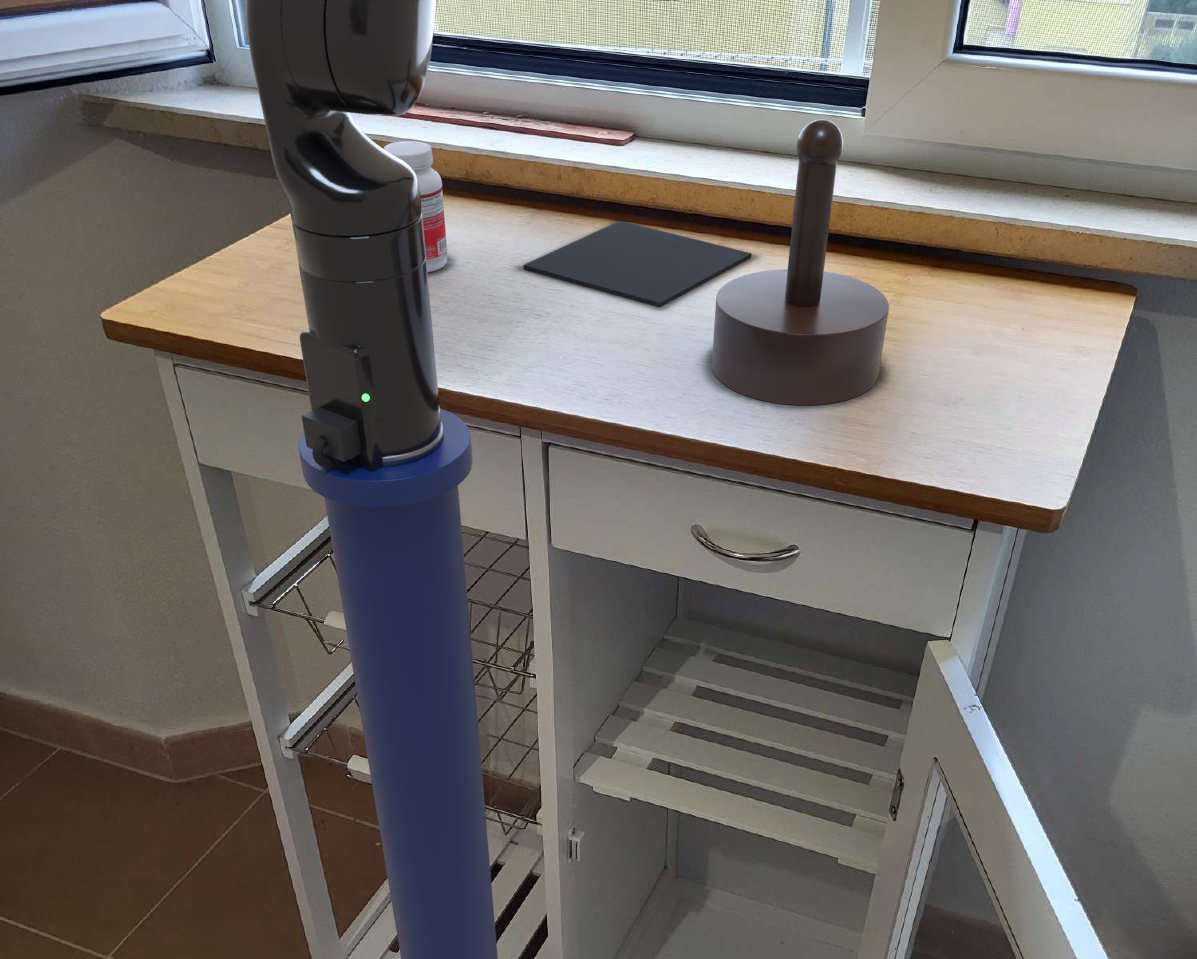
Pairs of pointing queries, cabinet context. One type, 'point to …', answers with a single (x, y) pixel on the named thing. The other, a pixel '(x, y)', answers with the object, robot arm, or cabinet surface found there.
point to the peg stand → (802, 305)
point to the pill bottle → (426, 198)
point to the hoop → (665, 0)
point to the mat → (638, 262)
